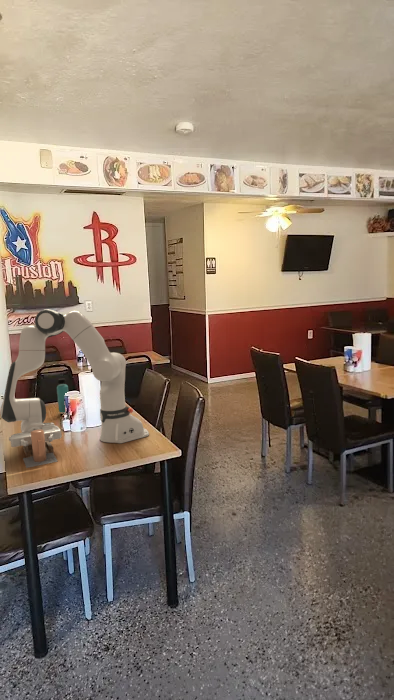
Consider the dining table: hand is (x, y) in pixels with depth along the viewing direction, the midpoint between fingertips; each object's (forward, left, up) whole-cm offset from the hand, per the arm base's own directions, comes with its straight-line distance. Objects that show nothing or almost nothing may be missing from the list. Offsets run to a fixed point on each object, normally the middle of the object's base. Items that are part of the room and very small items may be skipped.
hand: (38, 442), depth 187 cm
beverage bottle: (-23, -70, -9) cm, 74 cm away
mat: (0, -1, -8) cm, 8 cm away
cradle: (-1, -13, -8) cm, 15 cm away
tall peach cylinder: (0, 0, -8) cm, 8 cm away
